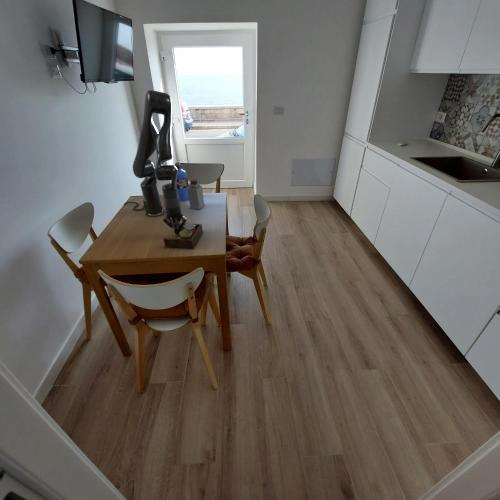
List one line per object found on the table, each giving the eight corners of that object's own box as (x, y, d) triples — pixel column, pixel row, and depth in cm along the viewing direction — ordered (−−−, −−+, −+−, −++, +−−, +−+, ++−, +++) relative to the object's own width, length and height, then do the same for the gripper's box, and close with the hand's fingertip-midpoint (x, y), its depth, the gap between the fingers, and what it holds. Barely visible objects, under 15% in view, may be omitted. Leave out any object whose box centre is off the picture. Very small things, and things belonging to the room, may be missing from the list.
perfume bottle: (204, 205, 181) (200, 178, 171) (199, 209, 176) (195, 182, 166) (195, 204, 183) (191, 177, 173) (190, 208, 178) (186, 181, 168)
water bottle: (174, 197, 192) (168, 162, 178) (187, 195, 196) (181, 160, 182) (178, 202, 186) (172, 165, 172) (191, 199, 189) (186, 163, 175)
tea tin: (180, 246, 140) (177, 234, 136) (184, 240, 145) (181, 228, 141) (191, 247, 139) (189, 235, 135) (195, 240, 144) (193, 229, 140)
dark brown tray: (165, 247, 139) (163, 239, 137) (177, 230, 153) (175, 222, 151) (193, 248, 138) (191, 240, 135) (202, 232, 151) (201, 224, 149)
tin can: (181, 238, 146) (180, 229, 143) (186, 232, 152) (184, 223, 149) (194, 239, 145) (192, 230, 142) (197, 232, 151) (196, 223, 148)
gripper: (186, 201, 141) (191, 230, 151) (161, 201, 142) (168, 230, 151) (183, 207, 135) (188, 237, 145) (157, 207, 136) (163, 237, 145)
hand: (177, 233), depth 148 cm, fingers closed
